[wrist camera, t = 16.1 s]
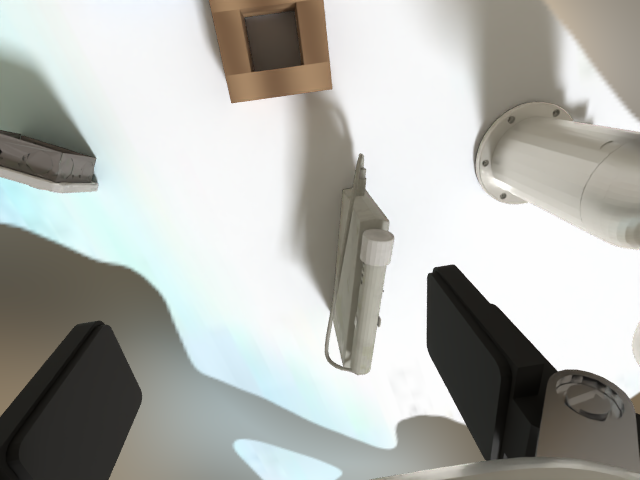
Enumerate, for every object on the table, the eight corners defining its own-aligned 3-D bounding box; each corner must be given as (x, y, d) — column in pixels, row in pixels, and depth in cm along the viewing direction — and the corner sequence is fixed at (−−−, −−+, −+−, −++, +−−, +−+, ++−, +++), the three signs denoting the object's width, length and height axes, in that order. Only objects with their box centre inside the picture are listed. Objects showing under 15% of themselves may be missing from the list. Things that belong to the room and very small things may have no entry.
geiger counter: (382, 390, 41) (421, 177, 30) (328, 392, 40) (348, 175, 30) (358, 316, 53) (379, 147, 43) (316, 316, 53) (327, 145, 42)
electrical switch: (10, 164, 40) (-62, 178, 31) (15, 118, 38) (-59, 120, 30) (100, 190, 42) (57, 211, 33) (108, 148, 41) (65, 157, 32)
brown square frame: (314, -22, 35) (319, -36, 31) (326, 87, 40) (332, 89, 35) (214, -9, 35) (204, -21, 30) (237, 100, 39) (231, 103, 35)
